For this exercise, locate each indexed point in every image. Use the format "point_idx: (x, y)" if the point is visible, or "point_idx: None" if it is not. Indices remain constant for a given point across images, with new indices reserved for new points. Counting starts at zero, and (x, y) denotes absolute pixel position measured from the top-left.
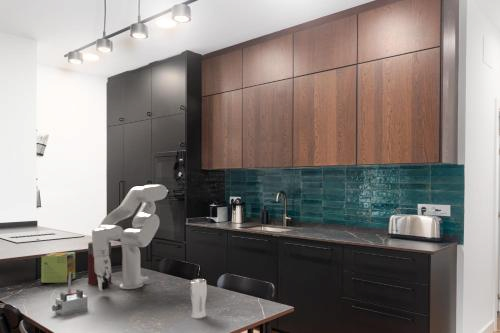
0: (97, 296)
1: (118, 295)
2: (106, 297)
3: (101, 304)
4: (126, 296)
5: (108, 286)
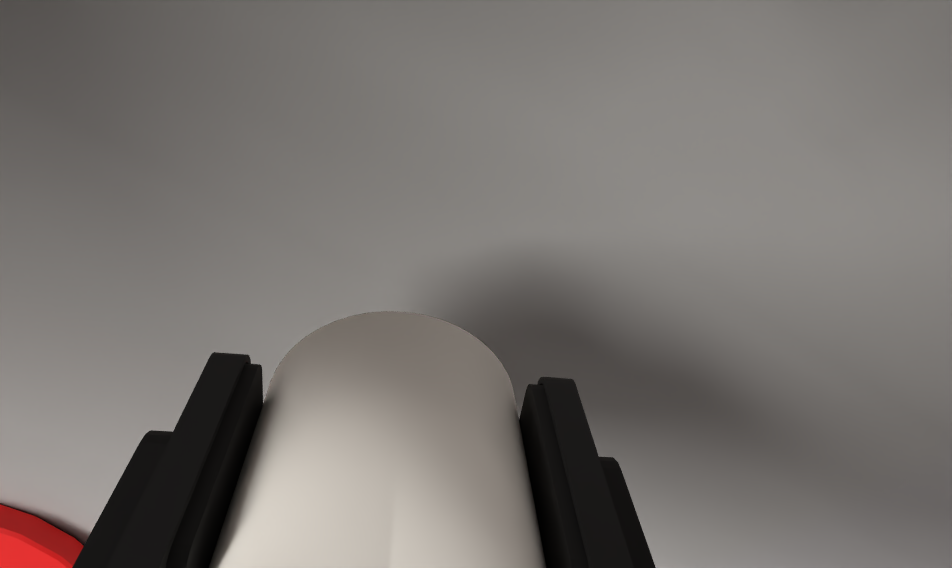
0: None
1: (683, 100)
2: (562, 338)
3: (815, 555)
4: (941, 28)
5: (583, 418)
